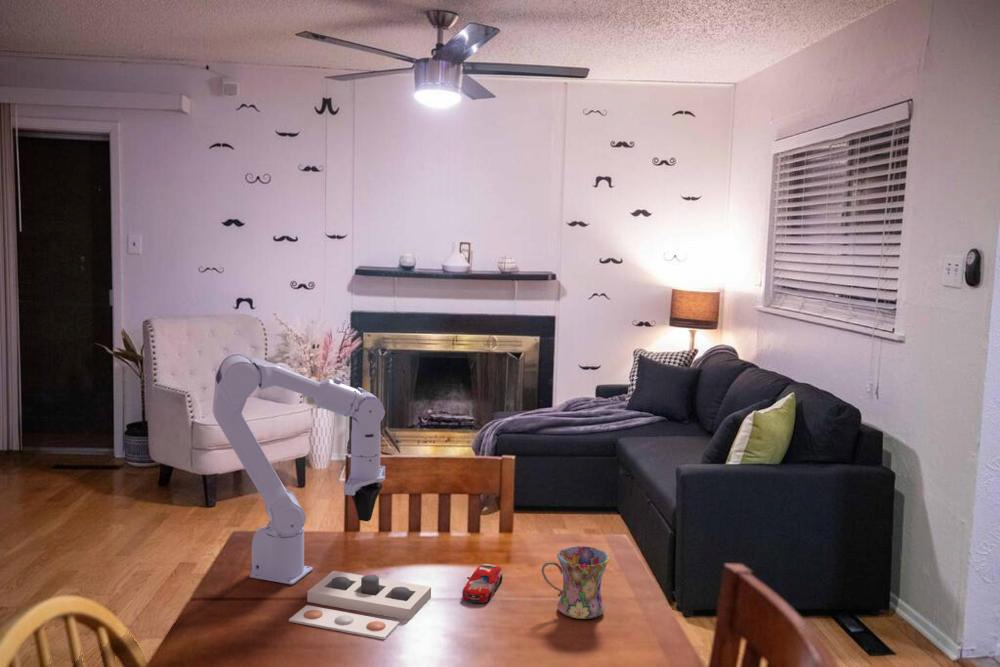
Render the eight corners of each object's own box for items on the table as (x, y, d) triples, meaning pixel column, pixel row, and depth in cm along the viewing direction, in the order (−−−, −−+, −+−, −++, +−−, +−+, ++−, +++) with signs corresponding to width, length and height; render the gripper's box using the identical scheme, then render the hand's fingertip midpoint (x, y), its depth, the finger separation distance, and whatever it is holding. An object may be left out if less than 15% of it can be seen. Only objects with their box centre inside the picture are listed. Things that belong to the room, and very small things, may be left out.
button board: (307, 601, 160) (307, 591, 160) (333, 580, 170) (333, 570, 169) (409, 620, 154) (409, 609, 154) (430, 597, 164) (431, 586, 163)
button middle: (358, 593, 161) (358, 580, 160) (365, 586, 164) (366, 574, 163) (374, 596, 160) (374, 583, 159) (381, 589, 163) (381, 576, 162)
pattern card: (288, 621, 152) (288, 618, 152) (306, 607, 158) (306, 603, 158) (384, 639, 147) (384, 636, 147) (399, 624, 153) (399, 620, 152)
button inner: (328, 595, 163) (328, 582, 162) (336, 588, 166) (336, 575, 165) (344, 598, 162) (344, 585, 161) (352, 591, 165) (352, 578, 164)
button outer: (388, 605, 159) (388, 592, 159) (395, 598, 162) (395, 585, 162) (404, 608, 158) (404, 595, 158) (411, 601, 161) (411, 588, 161)
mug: (602, 601, 165) (605, 546, 163) (610, 623, 155) (613, 566, 154) (537, 599, 164) (540, 545, 163) (542, 623, 155) (544, 565, 154)
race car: (486, 608, 161) (487, 587, 160) (458, 603, 162) (458, 583, 162) (506, 580, 173) (507, 560, 173) (480, 575, 175) (480, 556, 174)
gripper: (367, 465, 166) (366, 534, 168) (399, 446, 180) (398, 511, 182) (334, 461, 168) (333, 529, 170) (367, 443, 182) (366, 506, 184)
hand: (364, 519), depth 176 cm, fingers closed
